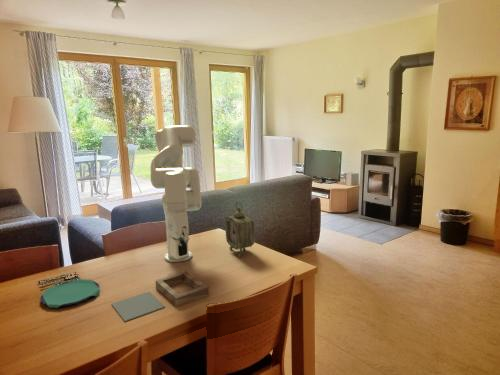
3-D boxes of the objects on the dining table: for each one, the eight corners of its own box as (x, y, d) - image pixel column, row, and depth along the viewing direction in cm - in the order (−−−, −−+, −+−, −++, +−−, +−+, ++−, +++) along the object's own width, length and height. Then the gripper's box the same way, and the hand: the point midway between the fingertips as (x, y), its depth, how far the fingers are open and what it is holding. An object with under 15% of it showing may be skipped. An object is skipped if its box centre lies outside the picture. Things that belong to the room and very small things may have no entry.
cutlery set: (46, 317, 121) (45, 310, 120) (32, 285, 144) (31, 280, 143) (106, 297, 133) (106, 292, 133) (84, 271, 156) (84, 266, 156)
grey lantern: (226, 249, 177) (224, 200, 172) (242, 245, 181) (241, 197, 176) (238, 259, 165) (237, 206, 160) (256, 255, 169) (255, 204, 164)
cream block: (170, 254, 134) (169, 236, 132) (182, 251, 137) (181, 233, 135) (176, 258, 130) (175, 240, 129) (188, 255, 133) (187, 237, 132)
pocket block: (156, 287, 139) (155, 280, 139) (186, 277, 147) (185, 271, 146) (176, 306, 125) (176, 298, 124) (208, 294, 133) (208, 287, 132)
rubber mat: (111, 304, 127) (111, 303, 127) (149, 292, 135) (149, 291, 135) (124, 321, 116) (124, 320, 116) (165, 307, 125) (165, 306, 124)
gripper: (157, 202, 134) (160, 248, 138) (177, 212, 120) (180, 262, 124) (175, 199, 138) (178, 243, 142) (197, 208, 125) (199, 257, 129)
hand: (179, 252), depth 133 cm, fingers closed on cream block, 5 cm apart
